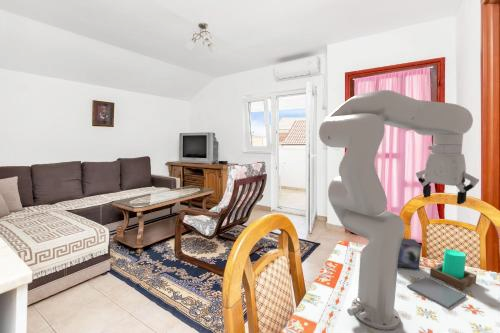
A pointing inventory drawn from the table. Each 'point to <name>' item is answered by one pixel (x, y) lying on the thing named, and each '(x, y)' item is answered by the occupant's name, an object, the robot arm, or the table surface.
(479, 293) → the table surface
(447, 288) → the slate mat
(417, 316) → the table surface
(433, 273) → the holder
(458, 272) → the candle
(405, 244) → the small box
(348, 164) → the robot arm
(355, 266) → the table surface
